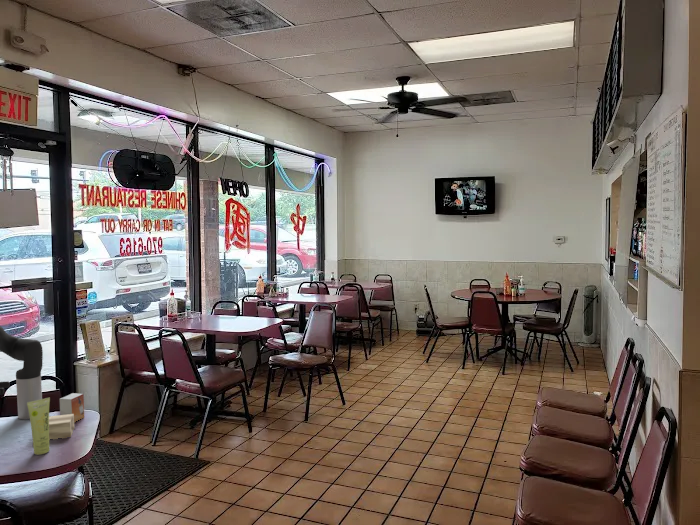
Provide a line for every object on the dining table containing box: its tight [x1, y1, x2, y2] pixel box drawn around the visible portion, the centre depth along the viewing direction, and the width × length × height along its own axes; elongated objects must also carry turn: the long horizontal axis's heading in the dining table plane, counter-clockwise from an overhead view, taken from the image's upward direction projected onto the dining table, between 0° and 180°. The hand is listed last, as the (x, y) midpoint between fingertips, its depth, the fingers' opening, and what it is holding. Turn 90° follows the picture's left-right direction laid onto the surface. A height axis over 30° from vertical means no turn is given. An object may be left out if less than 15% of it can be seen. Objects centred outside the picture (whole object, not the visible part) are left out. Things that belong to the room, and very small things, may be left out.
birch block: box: [49, 414, 75, 441], centre depth 221 cm, size 10×12×6 cm
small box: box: [59, 392, 85, 424], centre depth 236 cm, size 8×6×10 cm
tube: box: [27, 397, 51, 456], centre depth 204 cm, size 6×5×20 cm
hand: (6, 387), depth 200 cm, fingers open, 8 cm apart
